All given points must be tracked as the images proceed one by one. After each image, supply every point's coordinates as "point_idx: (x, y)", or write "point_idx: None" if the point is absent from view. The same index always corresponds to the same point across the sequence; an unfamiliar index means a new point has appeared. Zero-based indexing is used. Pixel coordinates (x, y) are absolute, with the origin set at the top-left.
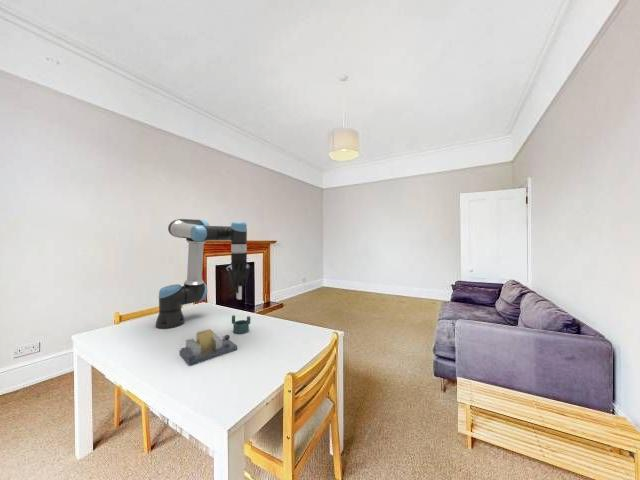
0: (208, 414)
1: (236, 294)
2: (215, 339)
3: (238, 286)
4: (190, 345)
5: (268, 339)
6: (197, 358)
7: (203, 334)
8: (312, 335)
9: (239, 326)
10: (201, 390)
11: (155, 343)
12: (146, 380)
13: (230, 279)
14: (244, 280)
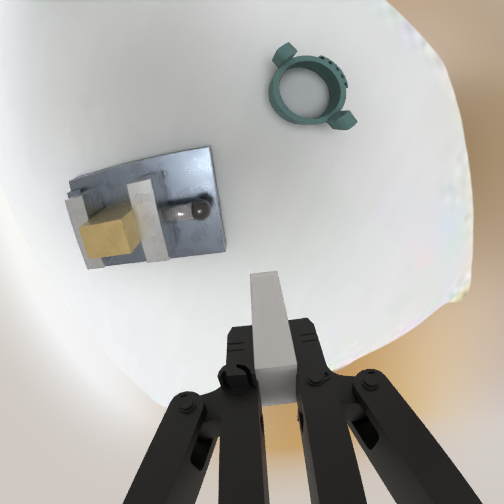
0: (142, 388)
1: (251, 297)
2: (147, 252)
3: (262, 397)
4: (80, 246)
5: (344, 233)
6: (110, 264)
7: (100, 256)
8: (433, 283)
9: (289, 117)
10: (129, 350)
11: (38, 66)
12: (41, 267)
13: (150, 472)
14: (385, 409)
